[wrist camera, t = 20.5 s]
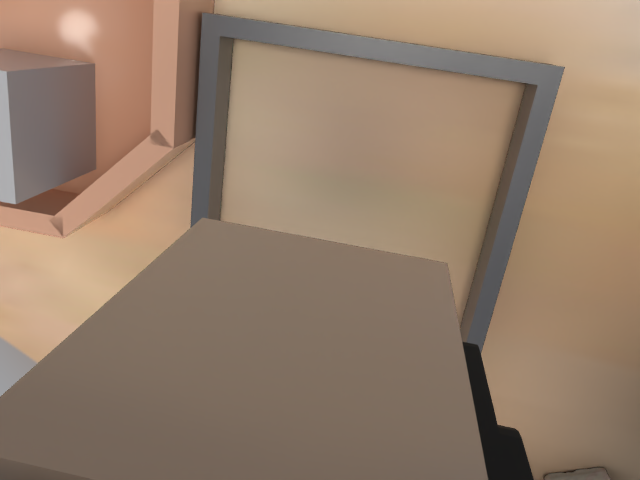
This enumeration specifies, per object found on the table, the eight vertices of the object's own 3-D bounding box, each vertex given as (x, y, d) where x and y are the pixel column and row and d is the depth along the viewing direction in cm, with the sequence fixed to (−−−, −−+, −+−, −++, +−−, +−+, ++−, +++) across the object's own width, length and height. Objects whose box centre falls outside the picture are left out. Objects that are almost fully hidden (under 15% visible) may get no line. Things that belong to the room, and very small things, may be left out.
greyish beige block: (447, 263, 10) (506, 575, 4) (393, 478, 11) (383, 899, 6) (202, 217, 10) (-54, 444, 4) (188, 432, 12) (-6, 785, 6)
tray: (551, 64, 23) (564, 67, 21) (447, 431, 30) (450, 457, 28) (217, 14, 24) (202, 12, 22) (194, 378, 31) (181, 400, 29)
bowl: (224, -167, 22) (187, -209, 18) (200, 228, 28) (169, 258, 24) (-163, -215, 23) (-272, -263, 19) (-104, 172, 29) (-178, 192, 26)
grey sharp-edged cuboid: (95, 63, 25) (6, 71, 19) (96, 169, 27) (15, 204, 21) (3, 48, 25) (-110, 51, 20) (10, 153, 27) (-91, 184, 21)
